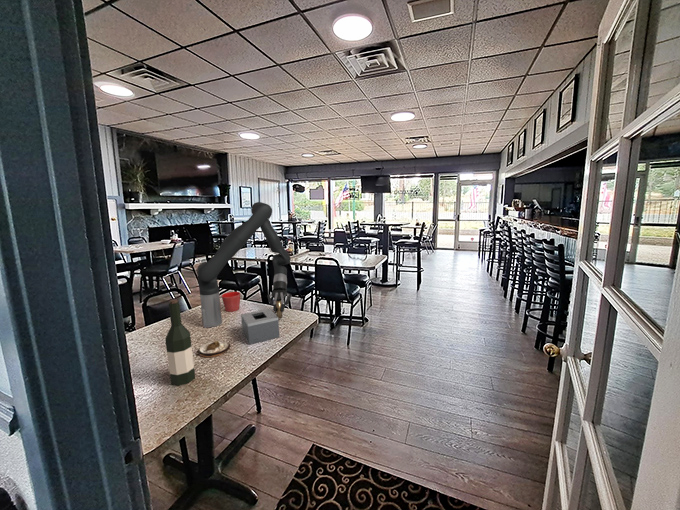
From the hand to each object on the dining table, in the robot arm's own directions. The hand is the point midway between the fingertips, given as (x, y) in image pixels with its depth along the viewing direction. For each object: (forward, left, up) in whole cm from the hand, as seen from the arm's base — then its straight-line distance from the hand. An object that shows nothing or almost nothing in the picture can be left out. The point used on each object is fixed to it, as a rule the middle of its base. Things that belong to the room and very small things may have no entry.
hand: (278, 311), depth 159 cm
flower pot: (-18, +34, -6) cm, 39 cm away
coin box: (-13, -11, -6) cm, 18 cm away
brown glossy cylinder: (+1, +2, -4) cm, 5 cm away
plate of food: (-34, -15, -6) cm, 38 cm away
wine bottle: (-47, -32, -6) cm, 57 cm away
